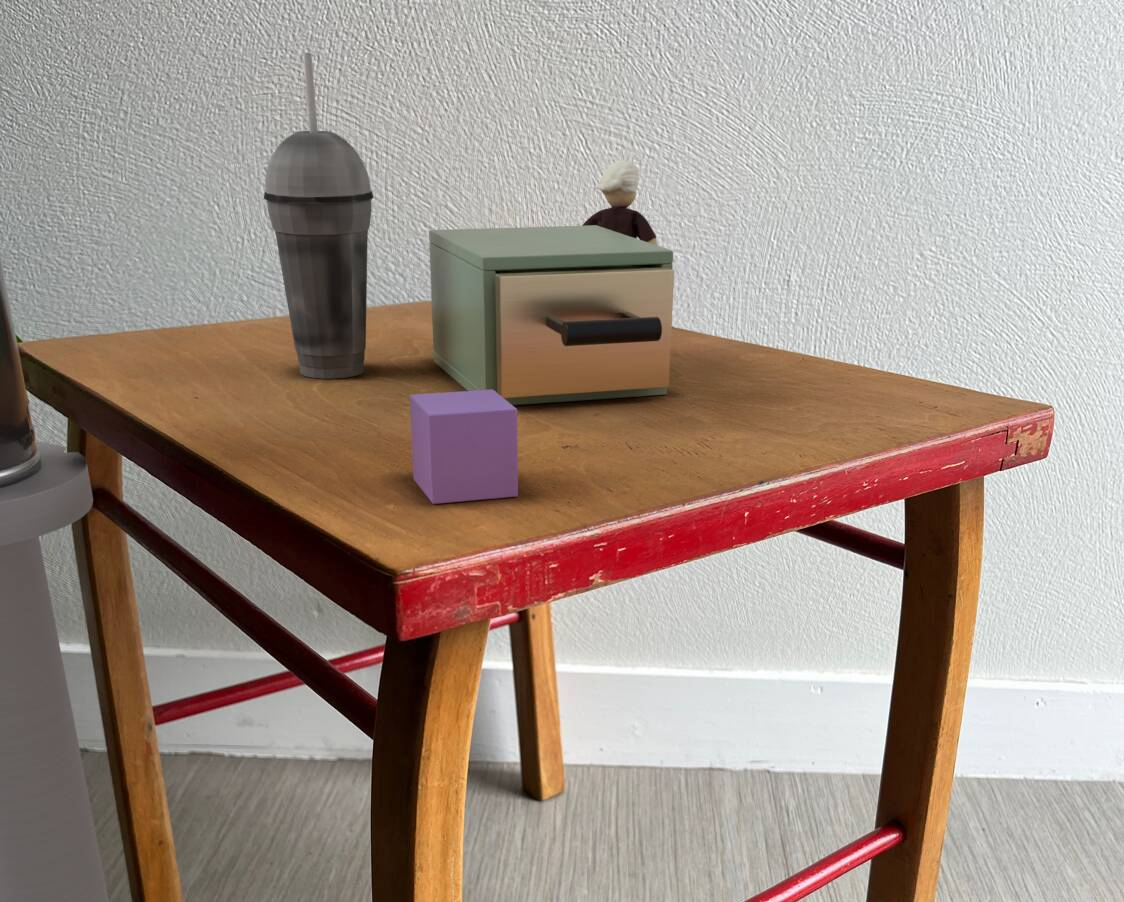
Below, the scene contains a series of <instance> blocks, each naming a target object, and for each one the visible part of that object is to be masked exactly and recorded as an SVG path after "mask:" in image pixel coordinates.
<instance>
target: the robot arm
mask: <svg viewBox="0 0 1124 902" xmlns="http://www.w3.org/2000/svg"><path fill="white" fill-rule="evenodd" d="M1 254H2V253H0V487H4V486H8V485H11V484H13V483H16V482H19V481H22V480H24V479H26V478H28V477H30V476H32V475H34V474H35V473H36V472H38V471H39V470H40V468H41V459H40V453H39V449H38V447H37V446H36V442H37V441H36V433H35V427H34V425H33V421H32V415H31V411H30V405H29V399H28V395H27V394H28V393H27V389H26V388H27V387H26V384H25V378H24V377H25V376H24V372H23V368H22V362H21V356H20V351H19V346H18V340H17V333H16V329H15V324H14V319H13V313H12V309H11V303H10V298H9V292H8V287H7V286H8V285H7V282H6V276H5V271H4V265H3V260H2V256H1Z"/></svg>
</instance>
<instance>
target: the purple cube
mask: <svg viewBox="0 0 1124 902" xmlns="http://www.w3.org/2000/svg"><path fill="white" fill-rule="evenodd" d="M409 411H410V413H409V414H410V433H411V435H410V436H411V455H412V476H413V481H414V482H415V483H416V484H417V486H418V487H419V488H420V489H421V491H422V492H423V494H424V495H425V496H426V497H427V498H428V500H429V501H430V502H431V503H432V504H433V505H439V504H452V503H461V502H462V503H463V502H472V501H483V500H484V501H485V500H494V499H505V498H516V497H518V496H519V463H518V462H519V460H518V459H519V457H518V456H519V454H518V453H519V452H518V450H519V449H518V446H519V445H518V409H517V407H515V405H511V404H510V403H509V402H508V401H506V400H505V399H504V398H503V397H502V396H500V395H499V394H498V393H497V392H495V391H494V390H492V389H491V390H476V391H467V390H463V391H449V392H447V391H446V392H432V393H431V392H430V393H416V394H410V395H409Z"/></svg>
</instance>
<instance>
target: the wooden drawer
mask: <svg viewBox="0 0 1124 902" xmlns="http://www.w3.org/2000/svg"><path fill="white" fill-rule="evenodd" d="M674 284H675V269H670V268H668V267H660V268H647V267H645V266H642V265H628V266H602V267H576V268H550V269H523V270H497V271H495V297H496V362H497V393H498V394H499V395H500V396H502V397H503V398H516V397H531V396H546V395H561V394H575V393H590V392H605V391H620V390H635V389H650V388H664V387H667V388H670V371H671V370H670V369H671V348H672V326H673V309H674V288H675V286H674Z"/></svg>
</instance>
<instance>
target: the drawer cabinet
mask: <svg viewBox="0 0 1124 902" xmlns="http://www.w3.org/2000/svg"><path fill="white" fill-rule="evenodd" d="M428 241H429V267H430V268H429V270H430V296H431V321H432V326H431V327H432V347H433V349H432V351H433V362H434V363H435V364H436V365H437V366H438V367H439V368H441V369H442V370H443V371H444V372H445V373H446V374H447V375H448V376H450V377H451V378H452V379H453V380H455V382H457V384H459V385H460V386H461V387H463V389H464V390H465V391H476V390H491V389H492V390H494V391H495V392H497V362H496V297H495V271H497V270H523V269H550V268H576V267H602V266H628V265H642V266H645V267H647V268H660V267H668V268H670V269H673V268H674V267H673V264H674V250H672V249H668V248H665V247H663V246H659V245H658V246H657V245H654V244H651V243H648V242H645V241H642V240H640V239H639V238H637V239H636V238H633V237H630V236H627V235H624V234H621V233H618V232H615V231H612V230H609V229H606V228H603V227H600V226H597V225H590V226H582V225H562V226H561V225H560V226H527V227H492V228H487V227H486V228H457V229H454V228H453V229H429V230H428ZM673 270H674V269H673ZM667 394H668V387H664V388H650V389H635V390H620V391H605V392H590V393H575V394H561V395H546V396H531V397H516V398H504V399H505V400H506V401H508V402H509V403H510V404H511V405H513V406H522V405H538V404H551V403H552V404H553V403H565V402H567V403H568V402H580V401H595V400H611V399H622V398H623V399H624V398H636V397H637V398H639V397H640V398H641V397H652V396H653V397H655V396H666V395H667Z"/></svg>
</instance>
